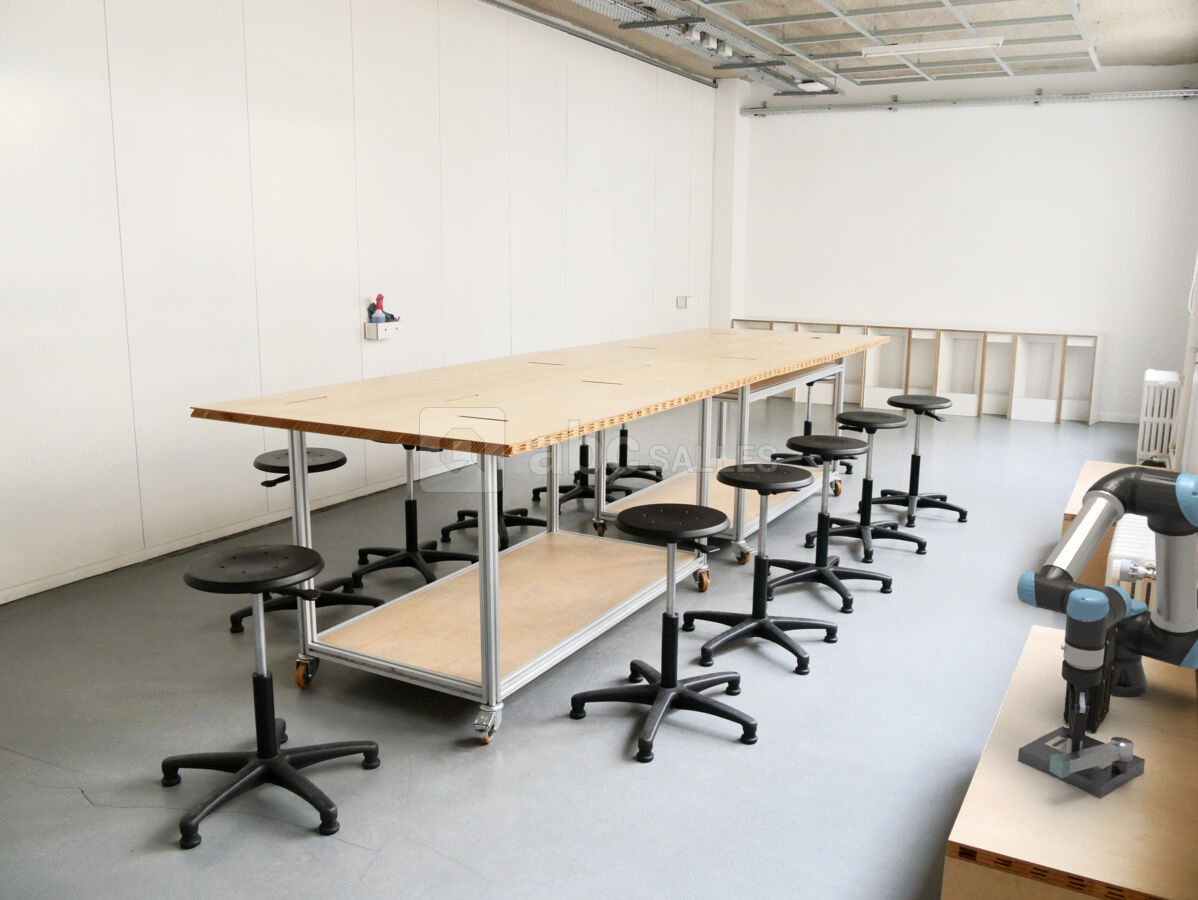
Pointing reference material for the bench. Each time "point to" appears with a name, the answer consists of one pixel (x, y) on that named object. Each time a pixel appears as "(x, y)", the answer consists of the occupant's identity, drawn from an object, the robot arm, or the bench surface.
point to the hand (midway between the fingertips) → (1072, 763)
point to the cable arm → (1092, 757)
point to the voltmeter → (1099, 685)
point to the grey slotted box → (1088, 780)
